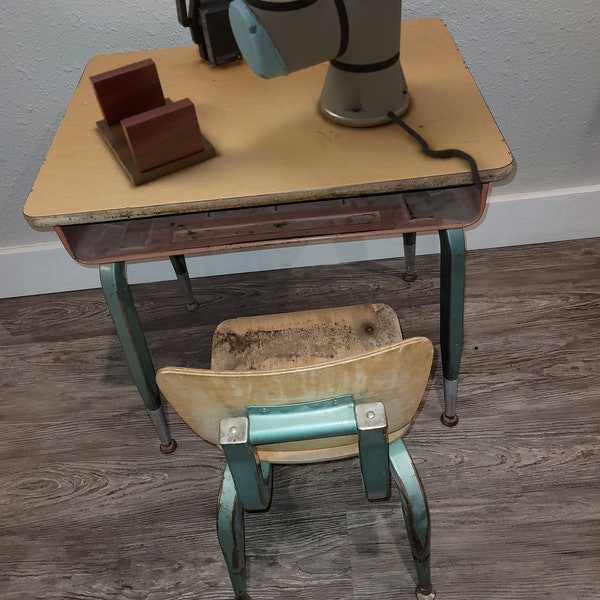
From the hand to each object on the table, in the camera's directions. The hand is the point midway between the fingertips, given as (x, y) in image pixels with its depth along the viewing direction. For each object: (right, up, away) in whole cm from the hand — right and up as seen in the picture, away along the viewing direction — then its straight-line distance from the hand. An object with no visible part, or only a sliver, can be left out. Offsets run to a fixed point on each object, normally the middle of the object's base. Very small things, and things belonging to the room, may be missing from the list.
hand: (221, 52), depth 122 cm
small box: (0, 0, 0) cm, 1 cm away
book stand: (-9, -24, -20) cm, 32 cm away
